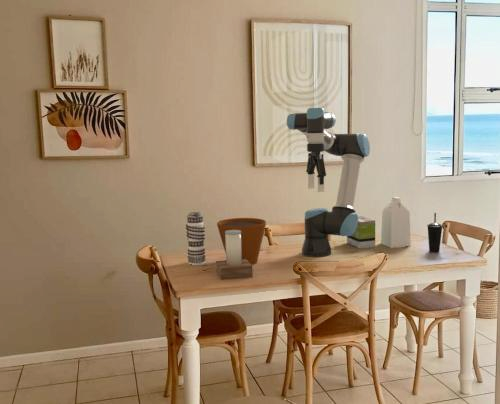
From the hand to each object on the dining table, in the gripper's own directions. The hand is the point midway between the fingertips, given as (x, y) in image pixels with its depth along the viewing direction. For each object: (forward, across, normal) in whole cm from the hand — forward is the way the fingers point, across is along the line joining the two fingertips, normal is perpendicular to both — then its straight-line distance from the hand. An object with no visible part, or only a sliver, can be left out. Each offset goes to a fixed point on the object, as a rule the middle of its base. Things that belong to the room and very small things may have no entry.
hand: (315, 190), depth 253 cm
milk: (+37, -36, +57) cm, 77 cm away
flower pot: (+37, -24, -30) cm, 53 cm away
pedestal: (+37, -3, -38) cm, 53 cm away
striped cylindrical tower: (+37, -29, -52) cm, 70 cm away
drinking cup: (+37, -15, +68) cm, 79 cm away
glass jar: (+32, -3, -38) cm, 50 cm away
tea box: (+37, -41, +39) cm, 68 cm away
